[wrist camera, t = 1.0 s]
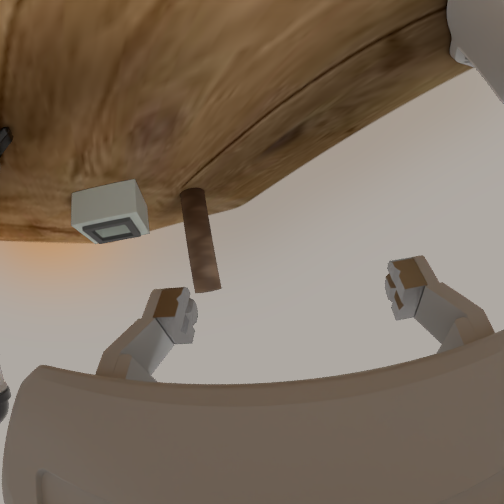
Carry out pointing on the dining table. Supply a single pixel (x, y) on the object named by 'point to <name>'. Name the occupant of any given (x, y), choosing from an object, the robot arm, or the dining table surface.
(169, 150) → the dining table surface
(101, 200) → the collar block
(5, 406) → the coffee press
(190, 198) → the dowel
